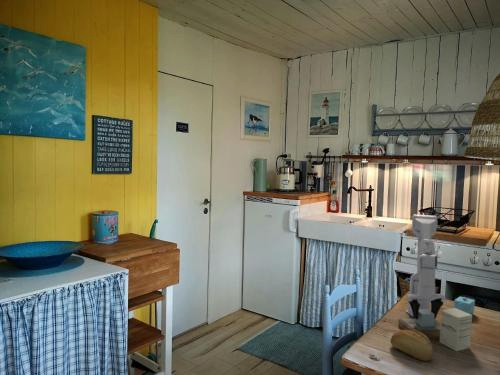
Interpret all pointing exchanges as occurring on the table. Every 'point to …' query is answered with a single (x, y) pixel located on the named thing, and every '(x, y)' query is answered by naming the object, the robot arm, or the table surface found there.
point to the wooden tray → (428, 331)
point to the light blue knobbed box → (464, 304)
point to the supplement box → (455, 329)
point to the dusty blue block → (425, 318)
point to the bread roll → (413, 343)
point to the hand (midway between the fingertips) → (424, 317)
